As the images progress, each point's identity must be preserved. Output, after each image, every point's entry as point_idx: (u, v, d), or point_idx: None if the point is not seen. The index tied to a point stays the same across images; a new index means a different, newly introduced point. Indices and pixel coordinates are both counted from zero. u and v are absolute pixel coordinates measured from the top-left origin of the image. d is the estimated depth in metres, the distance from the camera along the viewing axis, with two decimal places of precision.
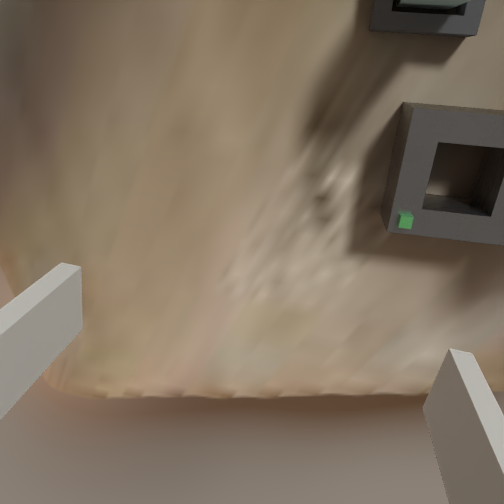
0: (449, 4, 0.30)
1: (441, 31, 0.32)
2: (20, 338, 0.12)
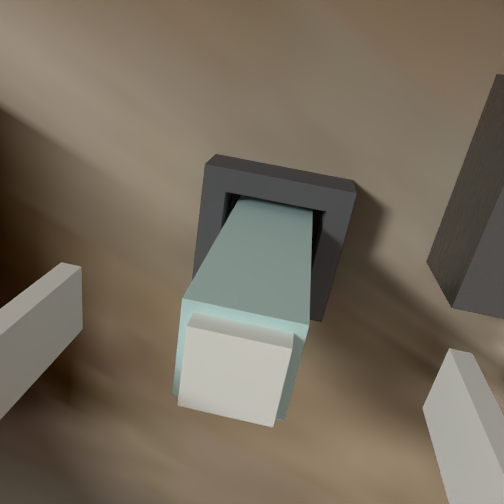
0: None
1: (342, 239, 0.22)
2: (20, 338, 0.12)
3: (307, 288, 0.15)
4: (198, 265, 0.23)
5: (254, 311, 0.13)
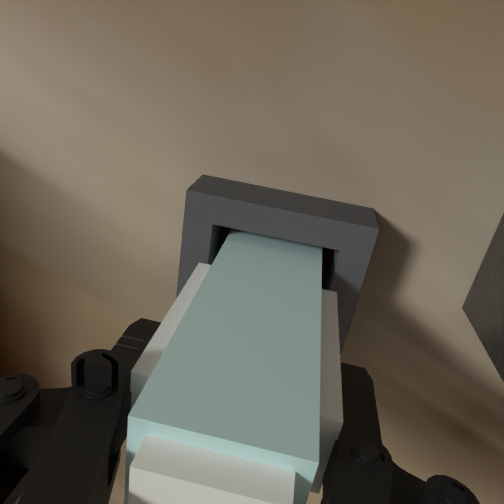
0: None
1: (359, 285, 0.17)
2: None
3: (316, 383, 0.11)
4: None
5: (235, 438, 0.09)
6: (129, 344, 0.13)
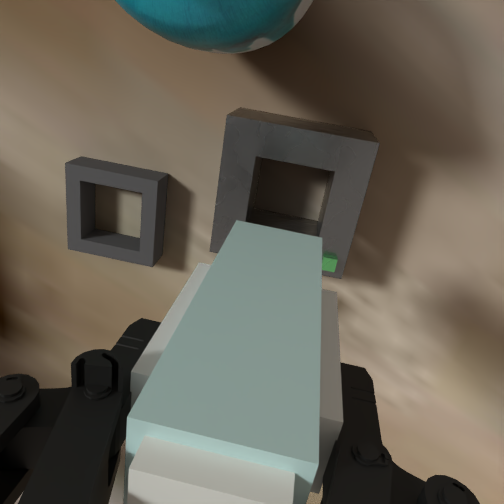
0: None
1: (154, 211, 0.34)
2: None
3: (315, 384, 0.11)
4: (70, 229, 0.36)
5: (235, 440, 0.09)
6: (129, 344, 0.13)
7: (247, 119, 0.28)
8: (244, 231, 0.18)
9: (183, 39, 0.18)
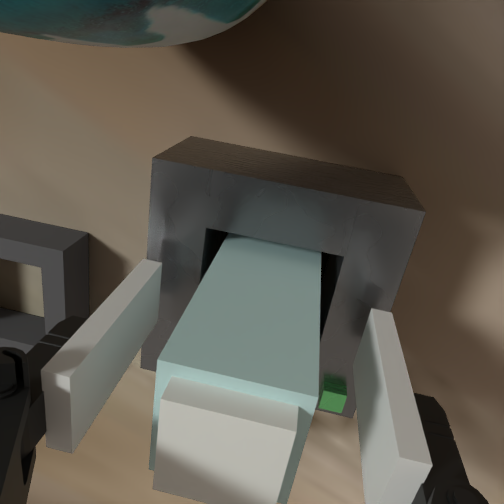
0: None
1: (62, 294, 0.22)
2: (123, 327, 0.13)
3: (316, 339, 0.12)
4: None
5: (248, 378, 0.10)
6: (53, 342, 0.12)
7: (188, 166, 0.16)
8: None
9: None
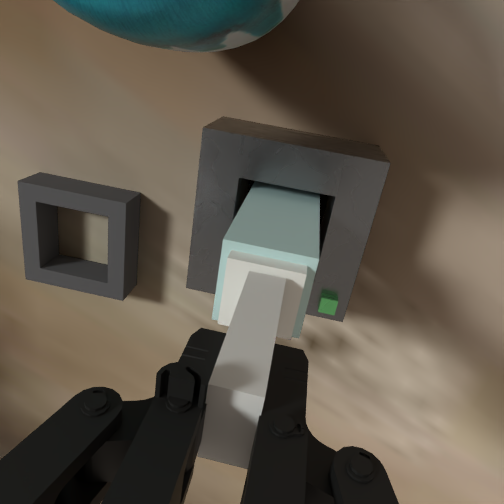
0: None
1: (123, 237, 0.29)
2: None
3: (317, 237, 0.19)
4: (27, 257, 0.31)
5: (277, 249, 0.17)
6: (195, 355, 0.13)
7: (228, 133, 0.23)
8: None
9: (124, 32, 0.13)
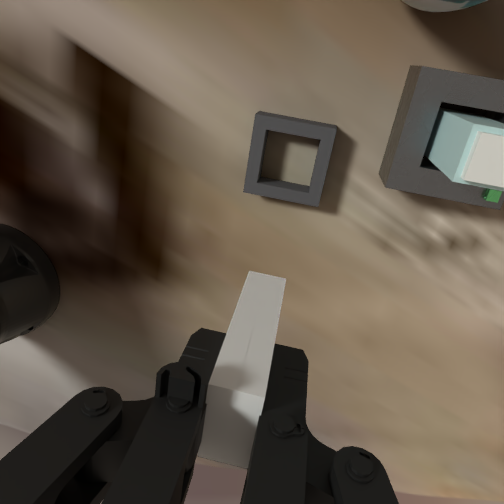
0: None
1: (329, 156, 0.40)
2: None
3: None
4: (248, 174, 0.42)
5: None
6: (195, 355, 0.13)
7: (439, 69, 0.33)
8: (441, 108, 0.38)
9: None
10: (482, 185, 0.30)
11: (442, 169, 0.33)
